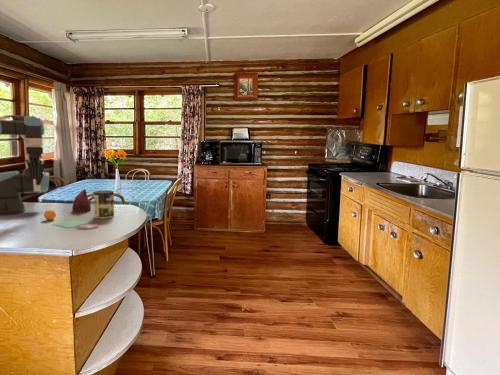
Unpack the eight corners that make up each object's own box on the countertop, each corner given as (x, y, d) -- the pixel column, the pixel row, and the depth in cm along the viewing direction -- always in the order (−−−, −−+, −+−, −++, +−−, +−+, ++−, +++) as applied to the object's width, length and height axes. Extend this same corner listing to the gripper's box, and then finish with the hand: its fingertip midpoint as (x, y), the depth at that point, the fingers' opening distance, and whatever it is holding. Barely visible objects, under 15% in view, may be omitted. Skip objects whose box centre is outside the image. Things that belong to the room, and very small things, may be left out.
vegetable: (93, 215, 204) (100, 191, 203) (80, 216, 195) (86, 191, 193) (81, 209, 208) (87, 186, 206) (67, 210, 198) (73, 186, 196)
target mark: (52, 225, 166) (52, 224, 166) (74, 220, 177) (74, 219, 177) (68, 228, 161) (68, 227, 161) (90, 223, 172) (90, 222, 172)
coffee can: (118, 215, 191) (117, 190, 189) (107, 219, 181) (106, 193, 179) (102, 214, 193) (101, 189, 191) (90, 218, 183) (89, 192, 181)
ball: (41, 220, 175) (41, 210, 175) (52, 218, 180) (51, 208, 179) (48, 221, 173) (47, 211, 172) (58, 219, 178) (58, 209, 177)
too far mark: (71, 227, 162) (71, 227, 162) (89, 223, 171) (89, 223, 171) (85, 230, 157) (85, 230, 157) (103, 226, 166) (103, 225, 166)
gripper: (19, 146, 175) (22, 190, 178) (34, 146, 169) (37, 192, 172) (34, 146, 182) (36, 189, 185) (49, 146, 176) (51, 191, 179)
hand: (37, 191), depth 179 cm, fingers closed
